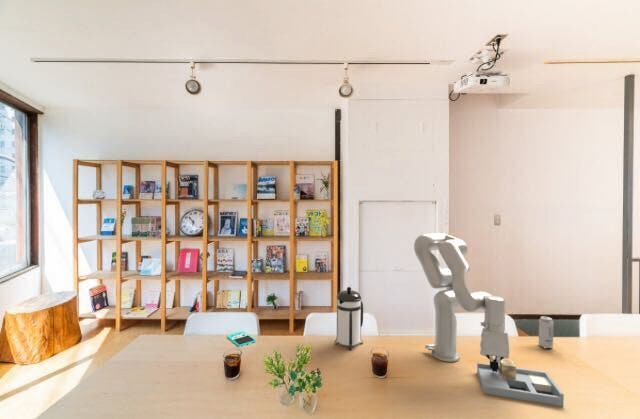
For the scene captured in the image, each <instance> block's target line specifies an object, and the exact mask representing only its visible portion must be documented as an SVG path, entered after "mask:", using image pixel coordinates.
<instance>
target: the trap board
mask: <svg viewBox="0 0 640 419" xmlns="http://www.w3.org/2000/svg"><path fill="white" fill-rule="evenodd" d="M476 368H477V369H476V373H477V376H478V379H479V382H480V384H481V385H480V386H481V388H482V391H483V393H484V394H485V395H490V396H497V397H502V398H503V397H504V398H508V399H509V398H510V399H515V400H522V401H528V402H535V403H540V404H545V405H552V406H556V407H557V406H558V407H564V400H565V399H564V396H565V395H564V392H563V391H562V390H561V389H560V387H559V386H558V384H557V383H556V382H555V381H554V380H553V378H552V377H551V376H550V374H549V373H548V372H547V371H543V370H536V369H534V370H533V369H527V368H521V367H516V379H512V378H506V377H502V376H501V374H500V372H499V369H497V372H495V371H494V372H493V371H492V369H491V368H490V363H485V362H478V361H477V364H476Z"/></svg>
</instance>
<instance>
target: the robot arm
mask: <svg viewBox="0 0 640 419" xmlns="http://www.w3.org/2000/svg"><path fill="white" fill-rule="evenodd" d="M413 248H414V249H413V251H414V253H415V256H416V257H417V259H418V261H419V263H420V265H421V267H422V270H423V271H424V275H425V277H426V279H427V282H428V283H429V285H430V287H431V288H433V289H435V290H437V289H439V291H438V292H437V293H435V295H434V296H433V306H434V313H435V316H434V317H435V320H434V322H435V325H434V326H435V327H434V329H435V336H434V338H435V339H434V340H435V342H434V343H432V344H429V343H428V344H427V343H425V344H424V345H425V349H427V350H428V351H431V355H432V356H433V358H435V359H437V360H439V361H443V362H449V363H451V362H452V363H454V362H457V361H459V360H460V356H461V355H460V354H459V352H458V351H457V329H458V328H457V326H458V324H457V322H458V321H457V316H456V314H455V310H458V309H463V310H464V311H465V312H466V311H467V312H469V313H473V312H476V311H477V312H478V311H480V310H484V319H483V322H480V326H483V327H482V330H481V335H480V350H479V353H480V355H481V356H483V357H486V358H487V359H488V360H489V364H490V368H491V369H492V371H493V372H494V371H495V372H497V369H499V362H500V361H501V360H507V359H509V358H510V342H509V341H510V340H509V334H508V331H507V330H506V300H505V299H504V298H503V297H501V296H498V295H492V294H490V293H488V292H486V291H481V290H479V291H474V292H471V291H470V290H469V288H468V286H467V284H466V275H467V274H468V273H469V271H470V270H471V267H470V265H469V263H468V262H467V259H465V255H466V254H467V253H468V246H467V244H466V242H465V241H464V240H463V239H461V238H458V237H455V236H452V235H449V234H446V233H443V232H442V233H441V232H435V233H424V234H421V235H419V236H417V238H415V240H414V244H413ZM432 251H438V252H439V254H440V256H441V258H442V260H443V261H444V263H445V264H446V266H447V267H442V265H441V264H440V262H439V260H438V258H437V256H436V255H435V254H434V253H433V252H432ZM440 289H443V290H440ZM494 357H495V358H494Z"/></svg>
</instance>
